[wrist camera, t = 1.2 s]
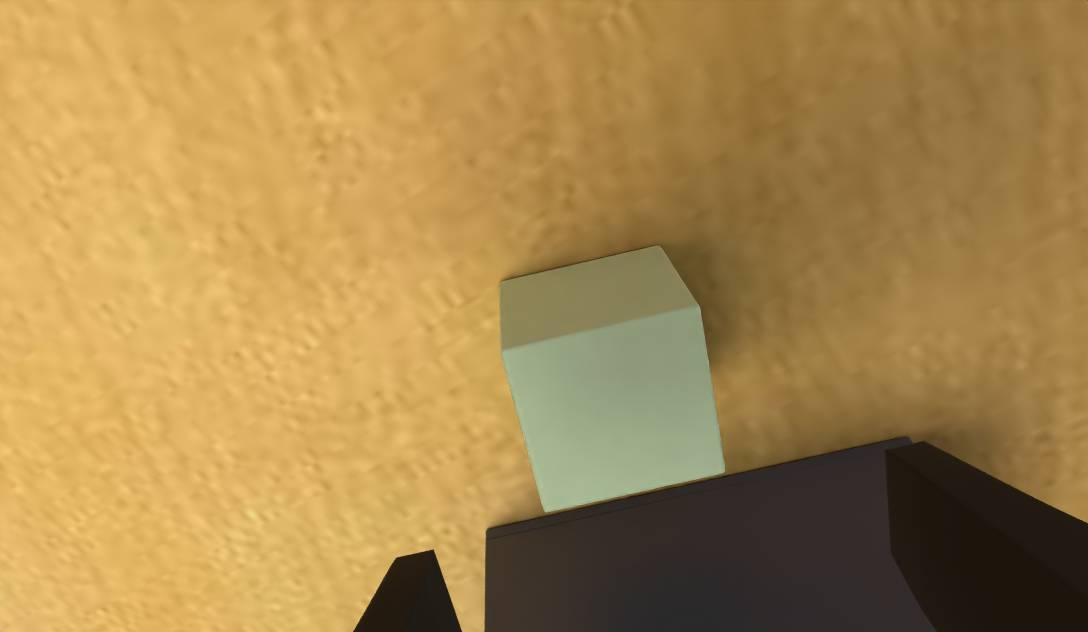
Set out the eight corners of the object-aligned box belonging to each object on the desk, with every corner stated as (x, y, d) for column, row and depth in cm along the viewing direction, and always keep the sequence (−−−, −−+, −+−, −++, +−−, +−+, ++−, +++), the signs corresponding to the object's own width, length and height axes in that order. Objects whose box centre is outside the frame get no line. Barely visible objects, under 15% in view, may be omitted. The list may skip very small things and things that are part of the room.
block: (659, 243, 21) (700, 305, 17) (684, 387, 23) (727, 474, 19) (498, 280, 21) (499, 350, 17) (534, 420, 23) (544, 514, 19)
